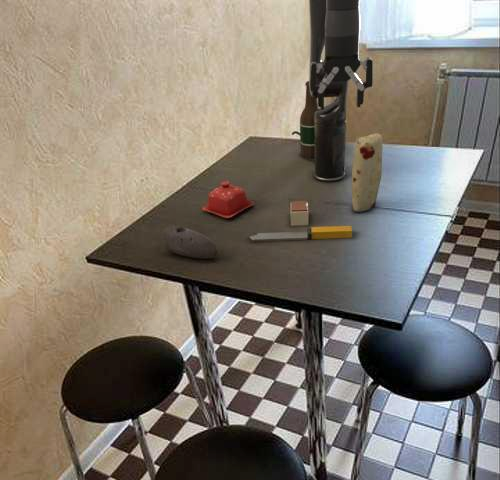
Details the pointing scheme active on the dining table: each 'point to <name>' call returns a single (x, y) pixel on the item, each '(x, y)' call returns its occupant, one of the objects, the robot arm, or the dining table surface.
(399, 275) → the dining table surface
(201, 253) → the perforated stone tool
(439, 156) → the dining table surface
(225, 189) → the butter dish
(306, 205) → the salt cellar
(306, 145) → the beer bottle
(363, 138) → the food model
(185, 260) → the dining table surface
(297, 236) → the knife
